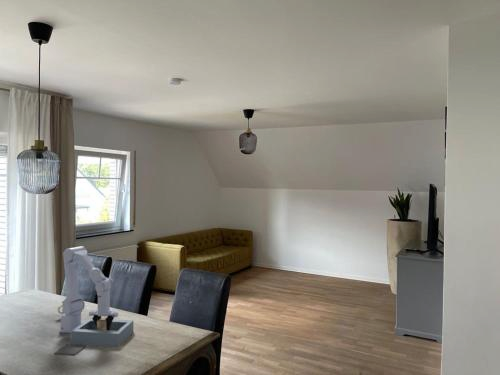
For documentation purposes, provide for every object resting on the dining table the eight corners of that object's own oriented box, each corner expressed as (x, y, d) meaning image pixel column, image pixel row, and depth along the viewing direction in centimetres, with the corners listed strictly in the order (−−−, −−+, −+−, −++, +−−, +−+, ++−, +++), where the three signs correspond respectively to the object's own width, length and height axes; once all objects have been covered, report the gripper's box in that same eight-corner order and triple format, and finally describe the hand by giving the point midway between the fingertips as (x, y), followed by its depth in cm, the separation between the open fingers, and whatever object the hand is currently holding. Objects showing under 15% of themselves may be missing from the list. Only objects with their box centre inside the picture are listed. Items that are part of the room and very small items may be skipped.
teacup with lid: (74, 311, 232) (74, 292, 232) (81, 315, 226) (82, 295, 226) (53, 317, 223) (54, 297, 222) (61, 320, 217) (61, 300, 217)
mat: (53, 354, 175) (53, 353, 175) (66, 345, 185) (66, 344, 185) (74, 355, 174) (74, 354, 174) (86, 346, 184) (86, 345, 184)
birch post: (96, 334, 192) (97, 321, 192) (101, 331, 197) (101, 317, 197) (105, 335, 192) (105, 321, 192) (109, 332, 196) (109, 318, 196)
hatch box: (70, 343, 186) (71, 331, 186) (89, 329, 204) (89, 318, 204) (118, 346, 184) (118, 333, 184) (133, 331, 202) (133, 320, 202)
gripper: (85, 305, 191) (85, 332, 191) (113, 306, 189) (113, 334, 190) (93, 301, 198) (92, 327, 198) (120, 302, 196) (119, 328, 197)
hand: (103, 330), depth 194 cm, fingers closed on birch post, 4 cm apart
